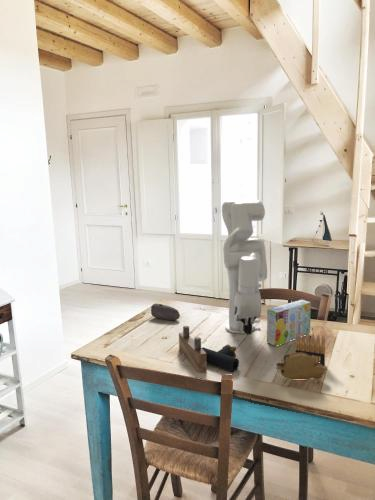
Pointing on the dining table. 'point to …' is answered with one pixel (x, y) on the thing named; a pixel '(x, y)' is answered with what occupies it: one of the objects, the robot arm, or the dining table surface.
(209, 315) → the dining table surface
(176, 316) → the perforated stone tool
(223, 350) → the pipe connector
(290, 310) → the snack box
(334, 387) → the dining table surface
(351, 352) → the dining table surface
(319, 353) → the ammunition clip
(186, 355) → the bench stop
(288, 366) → the wooden carving
